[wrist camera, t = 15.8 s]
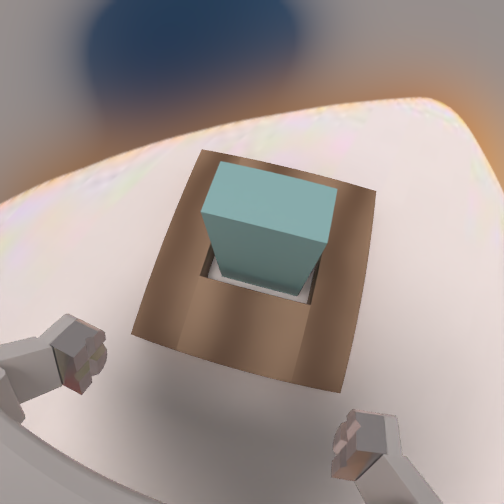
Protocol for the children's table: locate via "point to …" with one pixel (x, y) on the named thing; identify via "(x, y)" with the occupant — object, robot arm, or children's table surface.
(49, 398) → the children's table surface
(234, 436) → the children's table surface
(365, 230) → the slot board
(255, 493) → the children's table surface
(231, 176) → the teal rectangular block
